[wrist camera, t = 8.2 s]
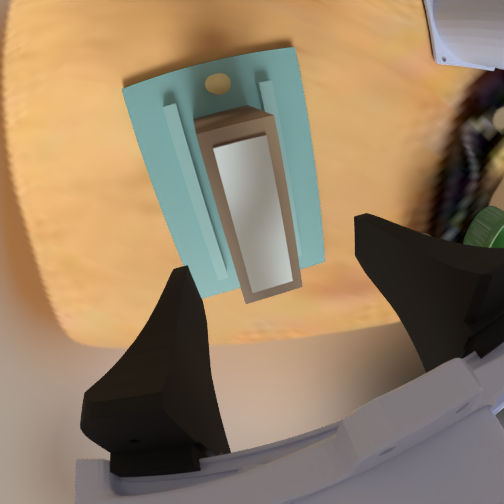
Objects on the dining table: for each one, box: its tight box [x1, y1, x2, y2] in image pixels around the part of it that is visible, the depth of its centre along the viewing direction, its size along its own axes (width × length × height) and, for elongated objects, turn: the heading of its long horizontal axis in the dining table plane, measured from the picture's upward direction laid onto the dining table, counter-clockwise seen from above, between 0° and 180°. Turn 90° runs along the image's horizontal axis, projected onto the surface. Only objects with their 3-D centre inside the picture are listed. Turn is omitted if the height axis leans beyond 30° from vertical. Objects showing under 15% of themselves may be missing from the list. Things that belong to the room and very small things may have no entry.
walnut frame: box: [193, 105, 302, 304], centre depth 17 cm, size 4×10×6 cm, turn 12°
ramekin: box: [463, 206, 504, 248], centre depth 28 cm, size 9×9×4 cm
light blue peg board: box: [122, 47, 325, 298], centre depth 19 cm, size 11×17×4 cm, turn 12°
